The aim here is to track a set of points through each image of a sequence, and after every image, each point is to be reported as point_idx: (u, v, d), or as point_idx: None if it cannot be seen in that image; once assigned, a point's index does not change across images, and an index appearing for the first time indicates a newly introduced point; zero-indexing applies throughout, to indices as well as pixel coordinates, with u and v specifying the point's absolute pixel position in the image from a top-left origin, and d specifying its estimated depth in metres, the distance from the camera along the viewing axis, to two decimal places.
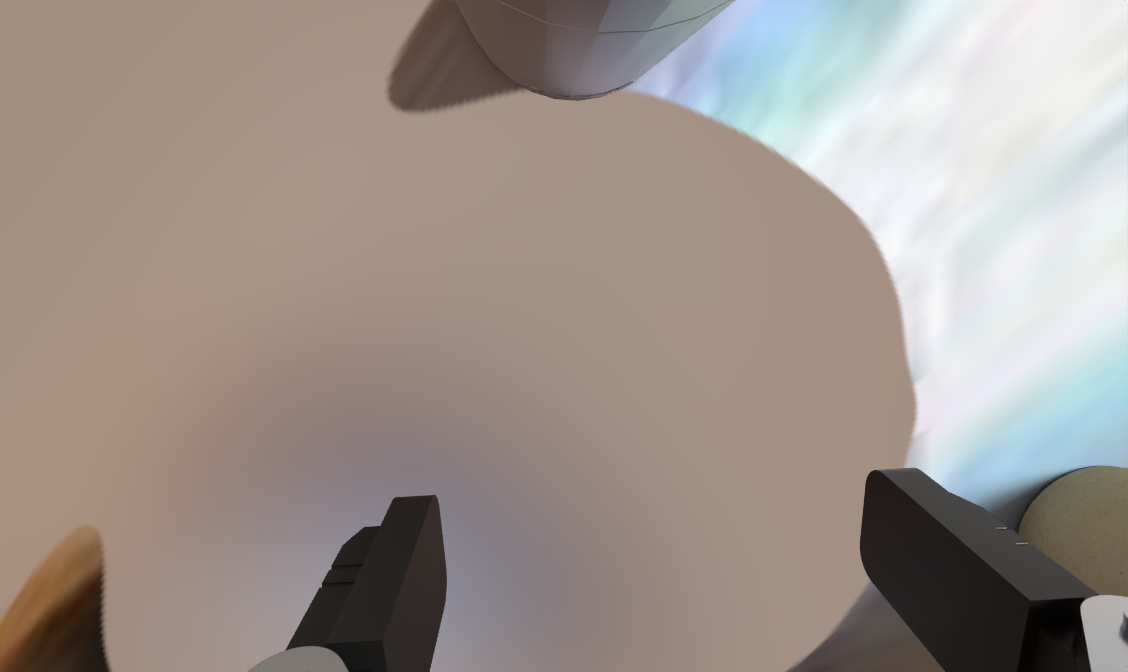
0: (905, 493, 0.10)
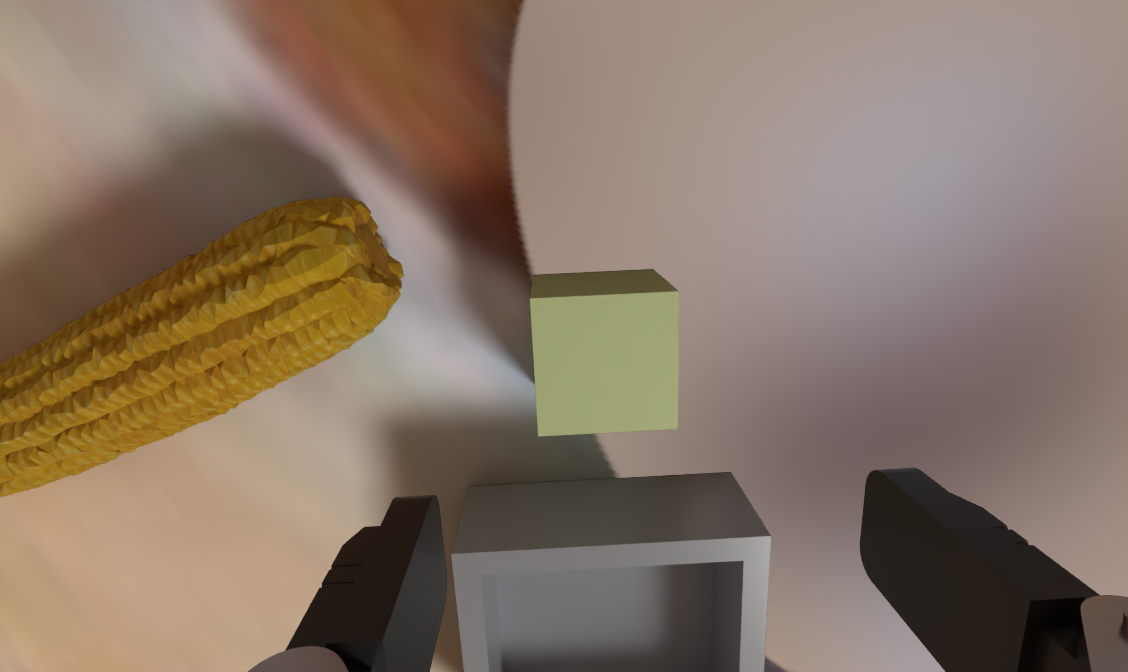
0: (905, 493, 0.10)
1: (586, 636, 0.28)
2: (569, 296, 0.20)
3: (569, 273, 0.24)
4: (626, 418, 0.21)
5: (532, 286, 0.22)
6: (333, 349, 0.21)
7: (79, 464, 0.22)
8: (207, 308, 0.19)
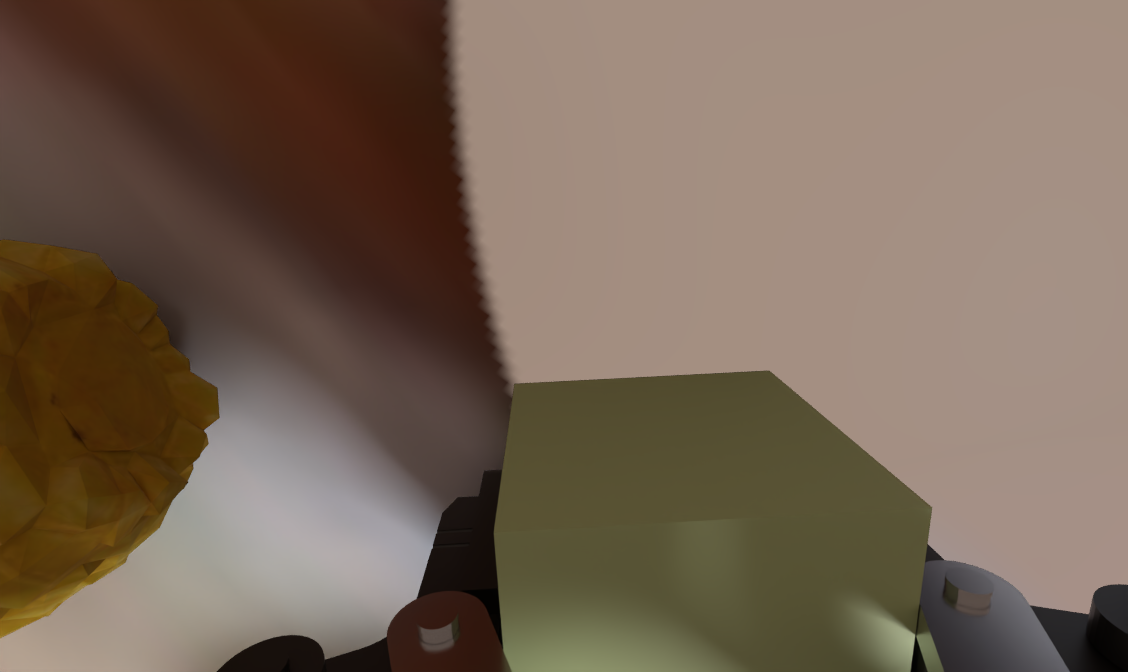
0: None
1: None
2: (610, 523, 0.07)
3: (592, 382, 0.11)
4: None
5: (508, 444, 0.09)
6: None
7: None
8: None
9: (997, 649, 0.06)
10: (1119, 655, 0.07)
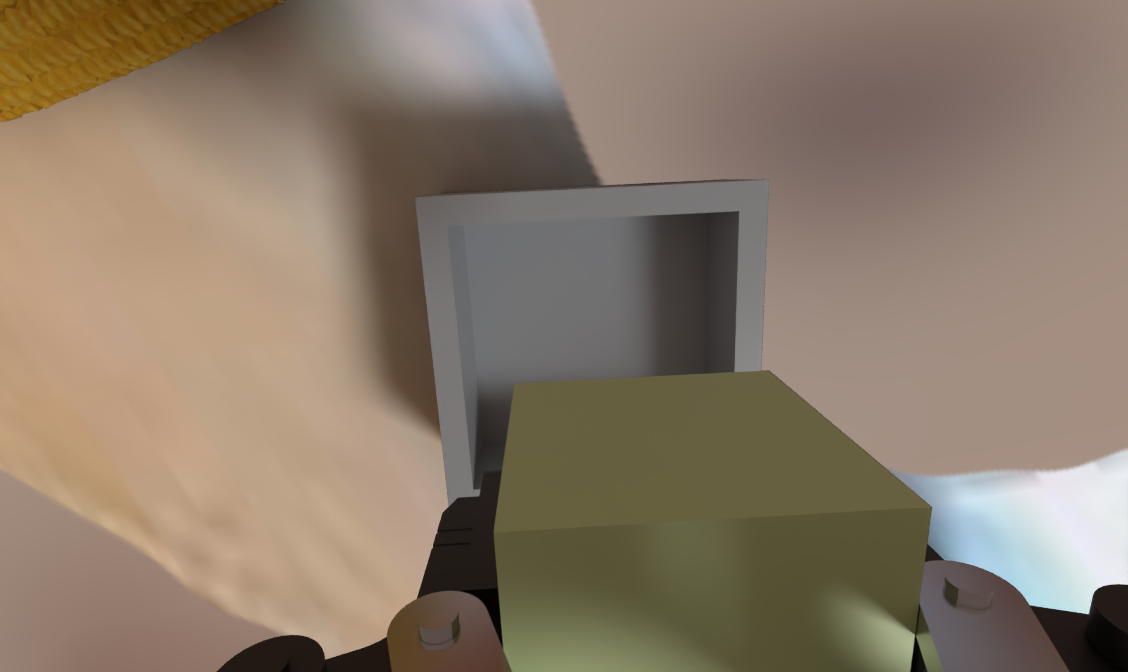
0: None
1: (569, 368, 0.26)
2: (610, 523, 0.07)
3: (592, 382, 0.11)
4: None
5: (508, 444, 0.09)
6: None
7: None
8: None
9: (997, 649, 0.06)
10: (1119, 655, 0.07)
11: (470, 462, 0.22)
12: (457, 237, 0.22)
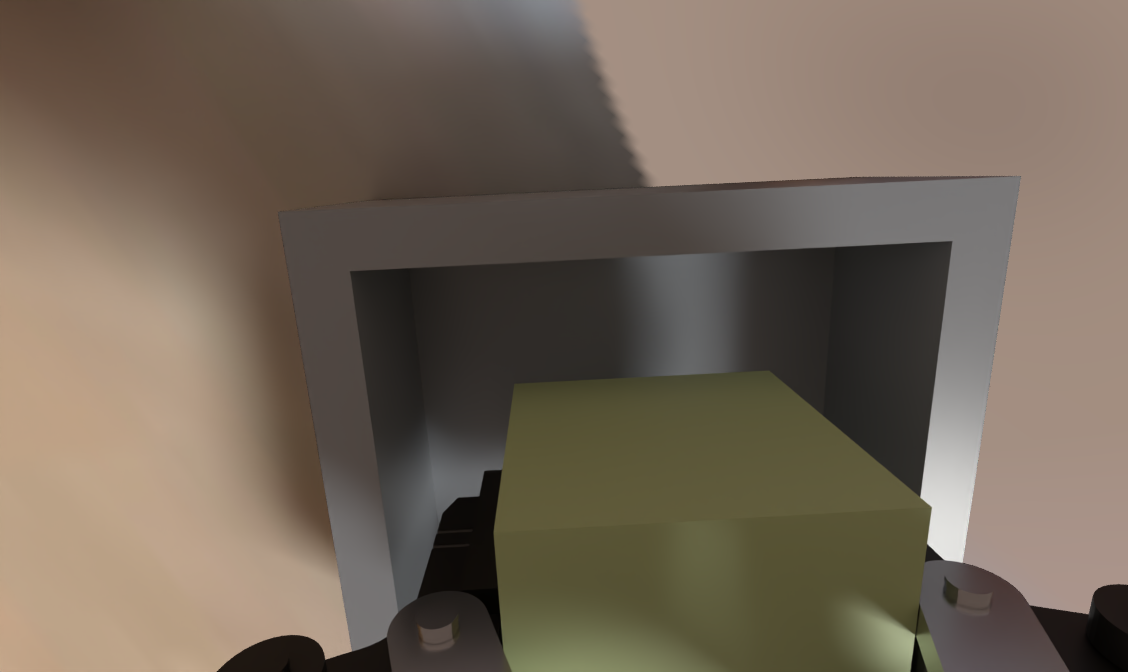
0: None
1: None
2: (610, 523, 0.07)
3: (592, 382, 0.11)
4: None
5: (508, 444, 0.09)
6: None
7: None
8: None
9: (997, 649, 0.06)
10: (1119, 655, 0.07)
11: None
12: (386, 284, 0.12)
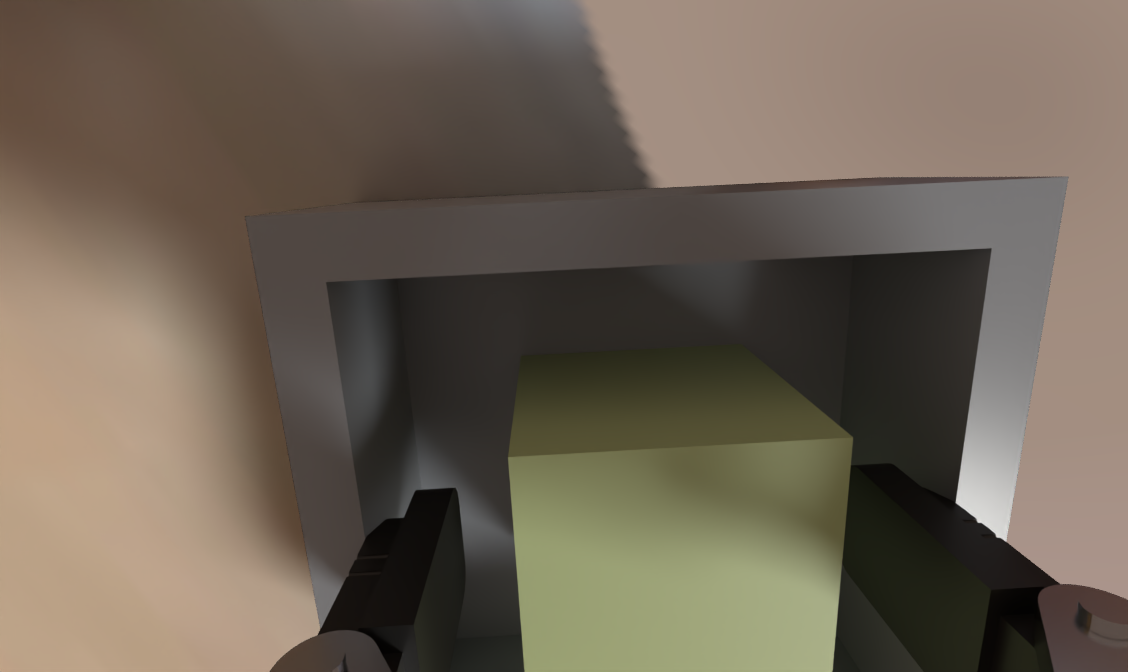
0: (878, 488, 0.10)
1: None
2: (600, 450, 0.09)
3: (588, 354, 0.13)
4: None
5: (517, 399, 0.11)
6: None
7: None
8: None
9: None
10: None
11: None
12: (370, 294, 0.11)
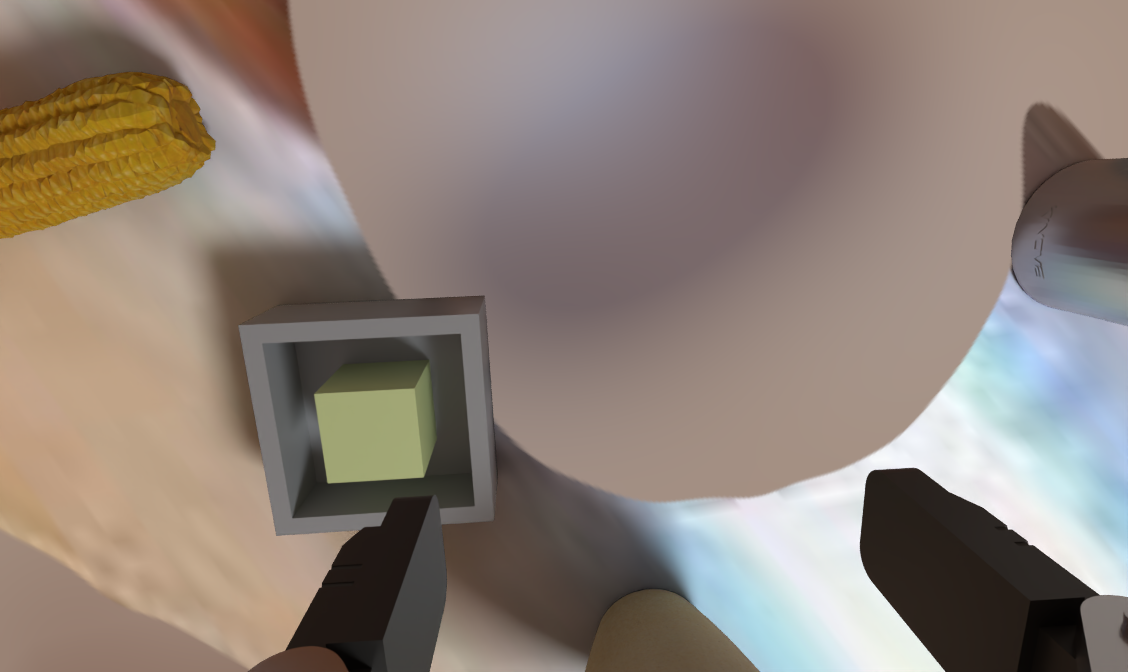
0: (905, 493, 0.10)
1: None
2: (341, 392, 0.30)
3: (368, 363, 0.34)
4: (387, 470, 0.31)
5: (329, 379, 0.32)
6: (141, 184, 0.28)
7: None
8: (43, 130, 0.26)
9: None
10: None
11: (289, 499, 0.32)
12: (279, 344, 0.32)
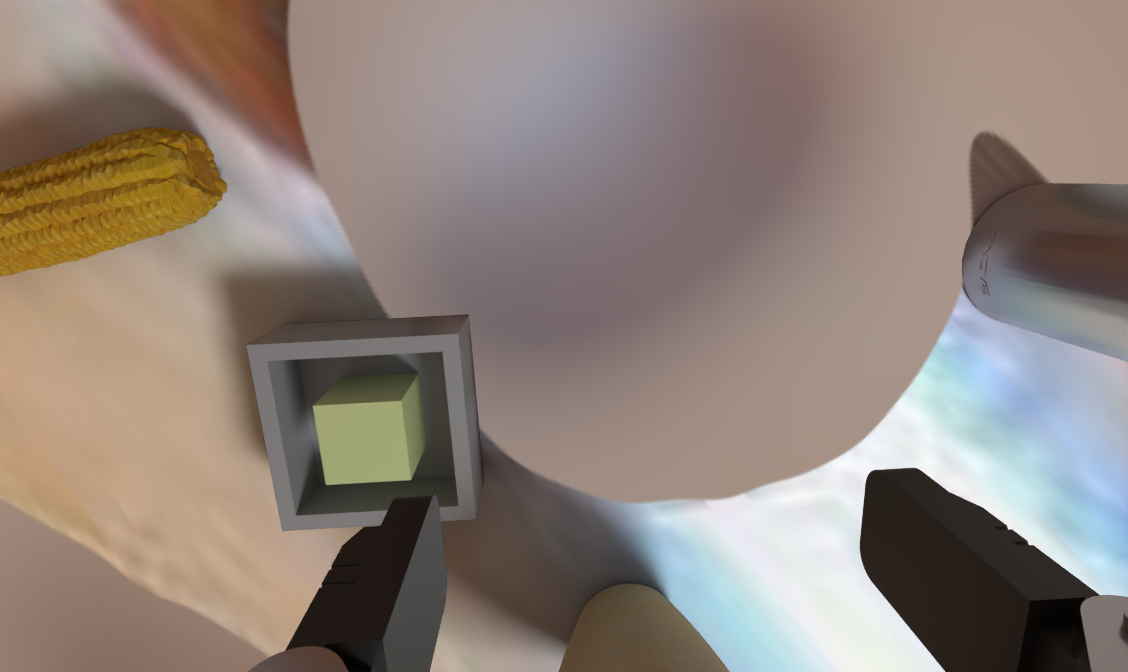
0: (905, 493, 0.10)
1: None
2: (336, 404, 0.33)
3: (364, 376, 0.38)
4: (378, 474, 0.35)
5: (327, 391, 0.36)
6: (161, 225, 0.32)
7: None
8: (78, 180, 0.30)
9: None
10: None
11: (293, 499, 0.36)
12: (284, 360, 0.36)
